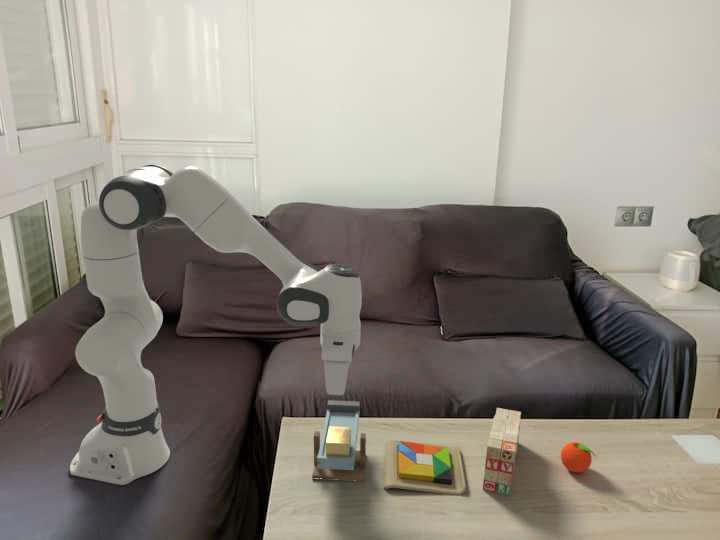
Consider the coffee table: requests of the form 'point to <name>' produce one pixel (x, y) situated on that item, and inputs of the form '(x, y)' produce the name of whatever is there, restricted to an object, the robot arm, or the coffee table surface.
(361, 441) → the pivot stand
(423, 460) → the wooden puzzle
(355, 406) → the beam
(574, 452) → the clementine
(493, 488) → the stack of blocks
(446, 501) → the coffee table surface
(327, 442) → the block
